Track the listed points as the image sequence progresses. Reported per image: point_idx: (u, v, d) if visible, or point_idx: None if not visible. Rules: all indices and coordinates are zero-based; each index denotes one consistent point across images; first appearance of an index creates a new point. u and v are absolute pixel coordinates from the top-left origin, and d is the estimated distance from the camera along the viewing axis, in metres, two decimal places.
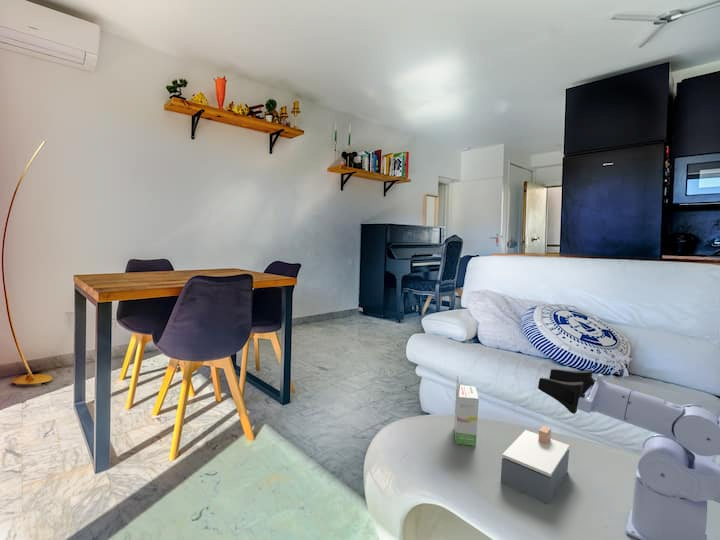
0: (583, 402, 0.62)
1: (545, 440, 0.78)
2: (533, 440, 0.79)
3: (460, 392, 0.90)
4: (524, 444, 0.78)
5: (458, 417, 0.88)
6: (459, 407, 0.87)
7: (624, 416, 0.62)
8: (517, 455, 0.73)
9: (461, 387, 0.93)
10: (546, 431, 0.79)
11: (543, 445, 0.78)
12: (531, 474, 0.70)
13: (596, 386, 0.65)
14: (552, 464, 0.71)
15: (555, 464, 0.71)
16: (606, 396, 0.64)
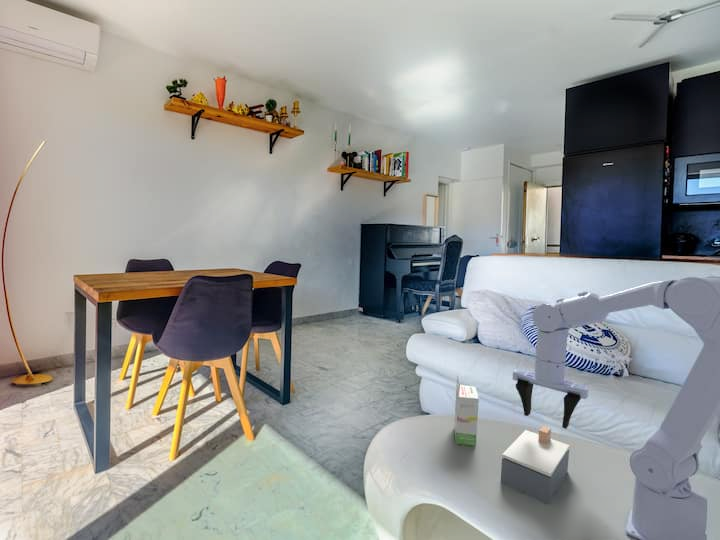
0: None
1: (545, 440, 0.78)
2: (533, 440, 0.79)
3: (460, 392, 0.90)
4: (524, 444, 0.78)
5: (458, 417, 0.88)
6: (459, 407, 0.87)
7: (536, 357, 0.79)
8: (517, 455, 0.73)
9: (461, 387, 0.93)
10: (546, 431, 0.79)
11: (543, 445, 0.78)
12: (531, 474, 0.70)
13: None
14: (552, 464, 0.71)
15: (555, 464, 0.71)
16: None
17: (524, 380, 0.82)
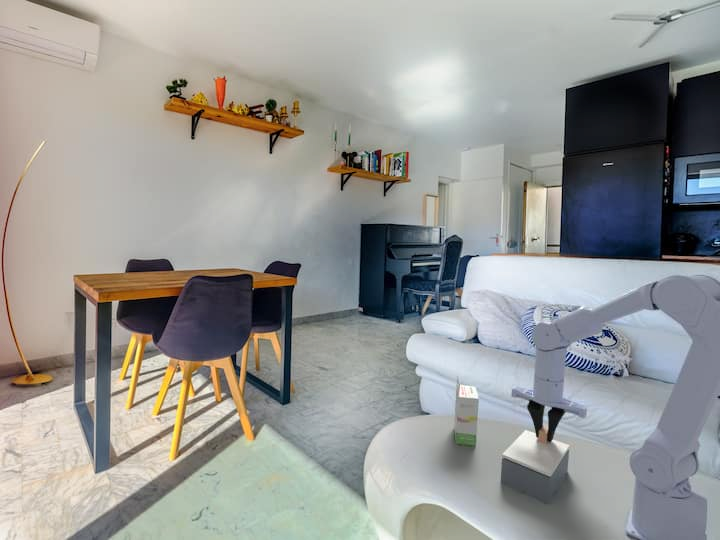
0: None
1: (545, 440, 0.78)
2: (533, 440, 0.79)
3: (460, 392, 0.90)
4: (524, 444, 0.78)
5: (458, 417, 0.88)
6: (459, 407, 0.87)
7: (534, 375, 0.80)
8: (517, 455, 0.73)
9: (461, 387, 0.93)
10: (546, 431, 0.79)
11: (543, 445, 0.78)
12: (531, 474, 0.70)
13: None
14: (552, 464, 0.71)
15: (555, 464, 0.71)
16: None
17: (523, 397, 0.82)
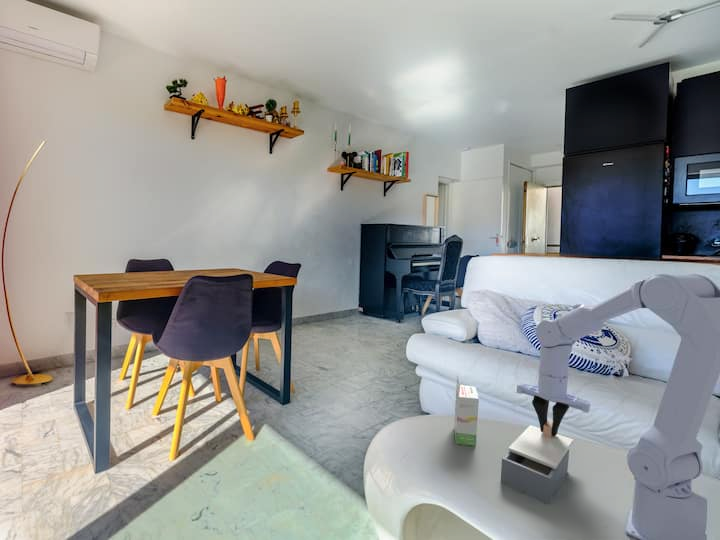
0: None
1: (550, 434, 0.81)
2: (538, 434, 0.82)
3: (460, 392, 0.90)
4: (529, 438, 0.80)
5: (458, 417, 0.88)
6: (459, 407, 0.87)
7: (539, 371, 0.82)
8: (523, 448, 0.76)
9: (461, 387, 0.93)
10: (551, 425, 0.81)
11: (547, 439, 0.80)
12: (531, 474, 0.70)
13: None
14: (557, 457, 0.73)
15: (560, 457, 0.73)
16: None
17: (527, 393, 0.85)
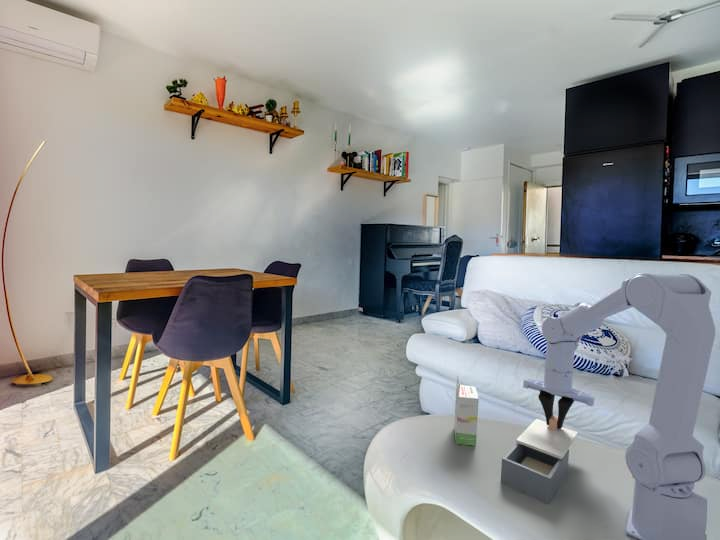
0: None
1: (555, 427, 0.84)
2: (544, 427, 0.85)
3: (460, 392, 0.90)
4: (536, 431, 0.84)
5: (458, 417, 0.88)
6: (459, 407, 0.87)
7: (545, 367, 0.85)
8: (530, 440, 0.79)
9: (461, 387, 0.93)
10: (556, 419, 0.85)
11: (553, 432, 0.83)
12: (531, 474, 0.70)
13: None
14: (563, 448, 0.77)
15: (565, 448, 0.77)
16: None
17: (534, 388, 0.88)
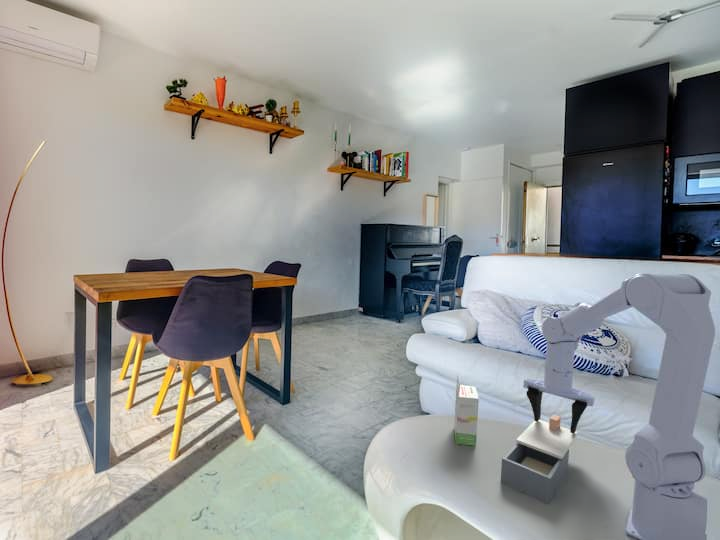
0: None
1: (555, 427, 0.84)
2: (544, 427, 0.85)
3: (460, 392, 0.90)
4: (536, 431, 0.84)
5: (458, 417, 0.88)
6: (459, 407, 0.87)
7: (545, 367, 0.86)
8: (530, 440, 0.79)
9: (461, 387, 0.93)
10: (556, 418, 0.85)
11: (553, 432, 0.84)
12: (531, 474, 0.70)
13: None
14: (563, 448, 0.77)
15: (565, 448, 0.77)
16: None
17: (534, 388, 0.88)
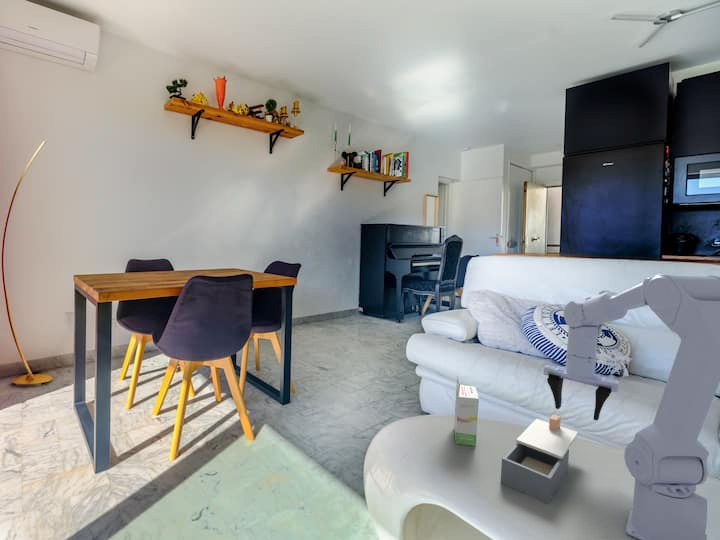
0: None
1: (555, 427, 0.84)
2: (544, 427, 0.85)
3: (460, 392, 0.90)
4: (536, 431, 0.84)
5: (458, 417, 0.88)
6: (459, 407, 0.87)
7: (567, 353, 0.84)
8: (530, 440, 0.79)
9: (461, 387, 0.93)
10: (556, 418, 0.85)
11: (553, 432, 0.84)
12: (531, 474, 0.70)
13: None
14: (563, 448, 0.77)
15: (565, 448, 0.77)
16: None
17: (555, 374, 0.86)
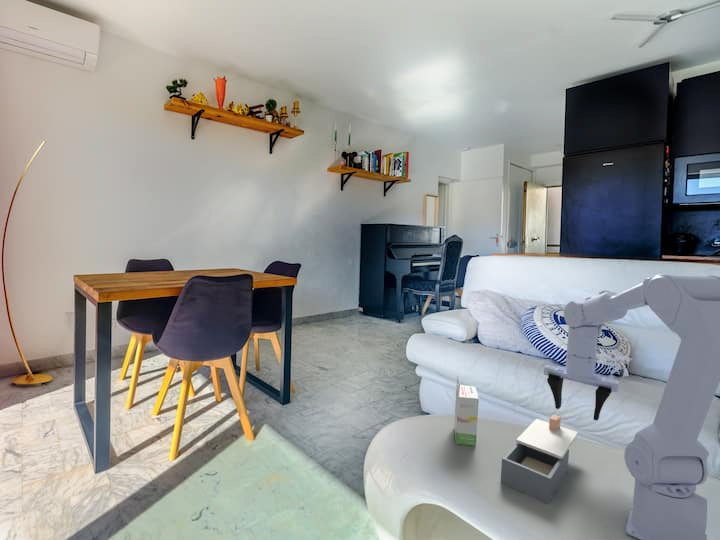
0: None
1: (555, 427, 0.84)
2: (544, 427, 0.85)
3: (460, 392, 0.90)
4: (536, 431, 0.84)
5: (458, 417, 0.88)
6: (459, 407, 0.87)
7: (567, 353, 0.84)
8: (530, 440, 0.79)
9: (461, 387, 0.93)
10: (556, 418, 0.85)
11: (553, 432, 0.84)
12: (531, 474, 0.70)
13: None
14: (563, 448, 0.77)
15: (565, 448, 0.77)
16: None
17: (555, 374, 0.86)
